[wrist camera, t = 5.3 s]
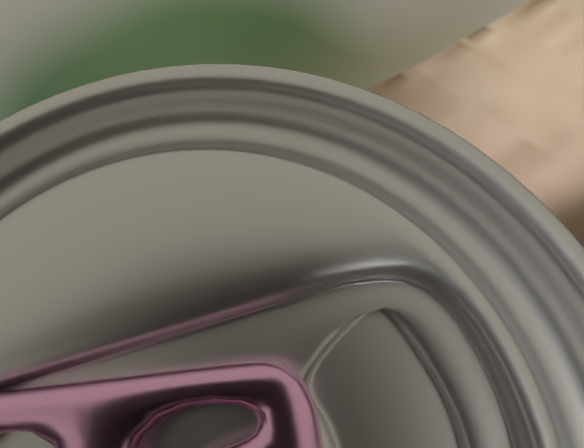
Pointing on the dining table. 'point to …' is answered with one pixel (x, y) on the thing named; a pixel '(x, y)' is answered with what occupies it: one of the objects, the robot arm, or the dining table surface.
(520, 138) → the dining table surface
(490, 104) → the dining table surface
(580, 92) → the dining table surface
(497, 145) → the dining table surface
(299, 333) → the beverage can
